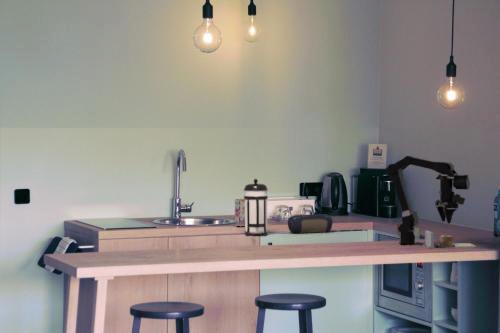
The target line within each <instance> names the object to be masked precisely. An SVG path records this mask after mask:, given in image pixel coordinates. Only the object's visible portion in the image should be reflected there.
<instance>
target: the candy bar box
mask: <svg viewBox="0 0 500 333" xmlns="http://www.w3.org/2000/svg"><path fill="white" fill-rule="evenodd" d="M235 222H238V223H242V222H245V199H244V198H235V199H234V223H235Z"/></svg>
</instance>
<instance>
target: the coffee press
mask: <svg viewBox="0 0 500 333" xmlns="http://www.w3.org/2000/svg"><path fill="white" fill-rule="evenodd" d="M243 191H244V195H243V199H245V227H244V234H245V236H246V237H250V236H251V235H252V234H259V235H260V234H262V235H263V236H264V237H267V236H268V235H269V234H268V232H267V231H268V191H269V190H268V187H267V185H266V184H264V183H258V179H257V178H254V179H253V183H248V184H246V185H245V186H244V188H243Z"/></svg>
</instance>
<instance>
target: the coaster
mask: <svg viewBox="0 0 500 333" xmlns="http://www.w3.org/2000/svg"><path fill="white" fill-rule="evenodd" d="M453 247H454V248H457V249H458V248H459V249H460V248H465V249H466V248H469V249H470V248H477V246H476V245H474V244H472V243H470V242H469V243H464V242H463V243H453Z"/></svg>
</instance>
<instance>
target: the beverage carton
mask: <svg viewBox="0 0 500 333" xmlns="http://www.w3.org/2000/svg"><path fill="white" fill-rule="evenodd" d="M401 224H402V223H397V224H396V227H397V228H396V230H397V235H398V236H399V230H398V227H399V226H400V225H401ZM420 229H421V228H420V227H419V226H418V225H417V226H416V227H415V229H414V235H415V240H416V239H418V240H419V239H421V238H420V237H421V234H420V233H421V231H420Z"/></svg>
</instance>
